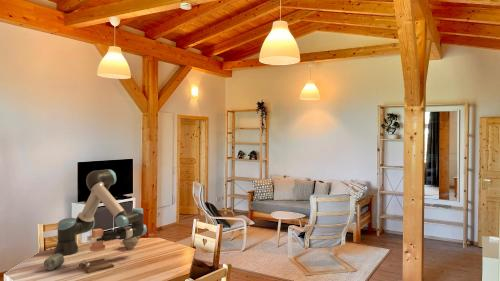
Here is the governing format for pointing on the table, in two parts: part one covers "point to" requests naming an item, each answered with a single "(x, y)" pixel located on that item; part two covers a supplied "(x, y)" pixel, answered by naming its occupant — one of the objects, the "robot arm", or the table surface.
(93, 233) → the tall pillar on disc
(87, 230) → the robot arm
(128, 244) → the pottery
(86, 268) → the dowels
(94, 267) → the plate
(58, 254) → the spool
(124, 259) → the table surface
